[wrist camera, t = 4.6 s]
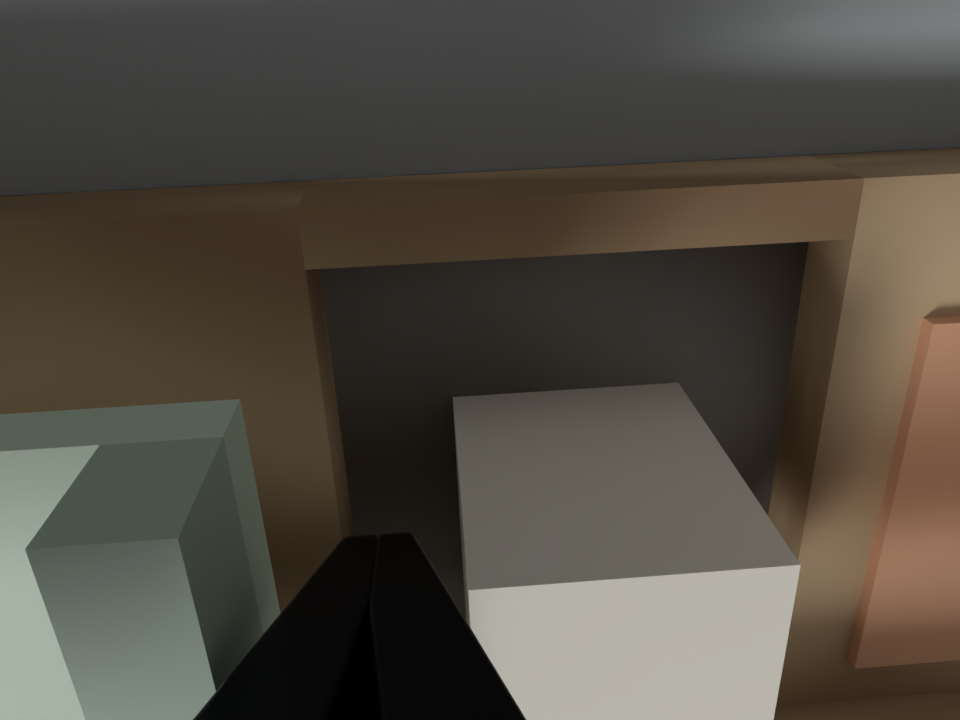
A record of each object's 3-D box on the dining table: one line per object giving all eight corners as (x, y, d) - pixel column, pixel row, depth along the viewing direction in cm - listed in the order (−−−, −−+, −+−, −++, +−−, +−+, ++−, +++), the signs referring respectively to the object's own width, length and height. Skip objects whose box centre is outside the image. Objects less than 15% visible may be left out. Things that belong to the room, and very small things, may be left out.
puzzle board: (1129, 642, 20) (1452, 936, 14) (-228, 755, 19) (-563, 1146, 12) (1348, 127, 15) (2048, 225, 8) (-555, 224, 13) (-1463, 436, 7)
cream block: (664, 562, 17) (761, 788, 12) (462, 576, 17) (480, 813, 12) (678, 382, 15) (800, 564, 11) (453, 397, 15) (468, 590, 10)
